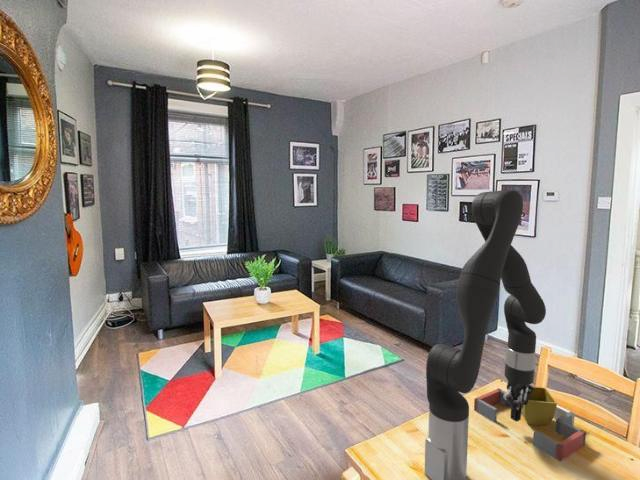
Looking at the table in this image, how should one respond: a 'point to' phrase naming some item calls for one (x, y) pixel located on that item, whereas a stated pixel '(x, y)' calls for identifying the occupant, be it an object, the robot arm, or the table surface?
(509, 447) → the table surface
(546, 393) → the flower pot
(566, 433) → the box
